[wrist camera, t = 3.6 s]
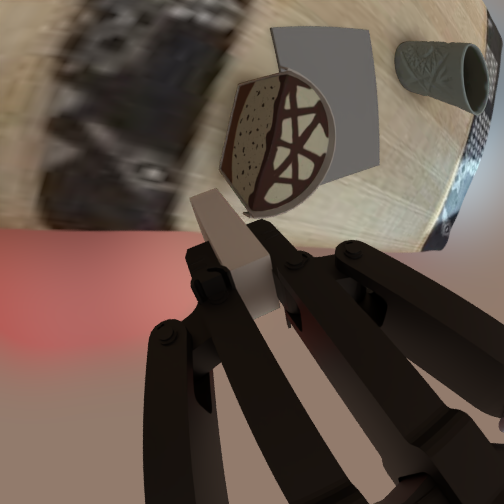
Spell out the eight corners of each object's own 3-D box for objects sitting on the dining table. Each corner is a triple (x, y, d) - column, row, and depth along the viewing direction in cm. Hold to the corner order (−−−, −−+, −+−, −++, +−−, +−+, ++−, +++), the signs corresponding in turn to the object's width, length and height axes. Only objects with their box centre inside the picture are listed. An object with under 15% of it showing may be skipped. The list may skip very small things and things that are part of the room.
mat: (298, 191, 33) (300, 192, 33) (270, 28, 20) (271, 27, 20) (377, 164, 35) (379, 165, 35) (366, 30, 23) (368, 30, 23)
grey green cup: (429, 93, 32) (489, 112, 23) (394, 99, 30) (465, 120, 21) (421, 38, 25) (486, 47, 16) (384, 34, 24) (459, 39, 15)
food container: (266, 188, 31) (315, 228, 23) (216, 183, 28) (252, 225, 21) (293, 86, 25) (357, 92, 18) (241, 70, 22) (294, 64, 15)
